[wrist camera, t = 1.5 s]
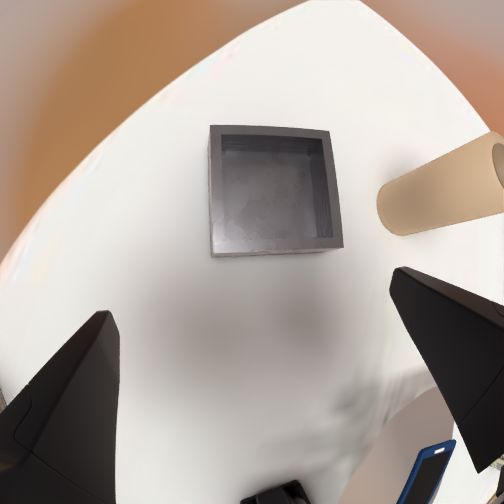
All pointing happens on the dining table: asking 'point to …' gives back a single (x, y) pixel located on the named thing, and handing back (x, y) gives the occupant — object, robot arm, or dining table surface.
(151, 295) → the dining table surface
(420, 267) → the dining table surface
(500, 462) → the coffee can
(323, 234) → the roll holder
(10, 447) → the robot arm
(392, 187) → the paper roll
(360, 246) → the dining table surface
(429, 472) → the cell phone
